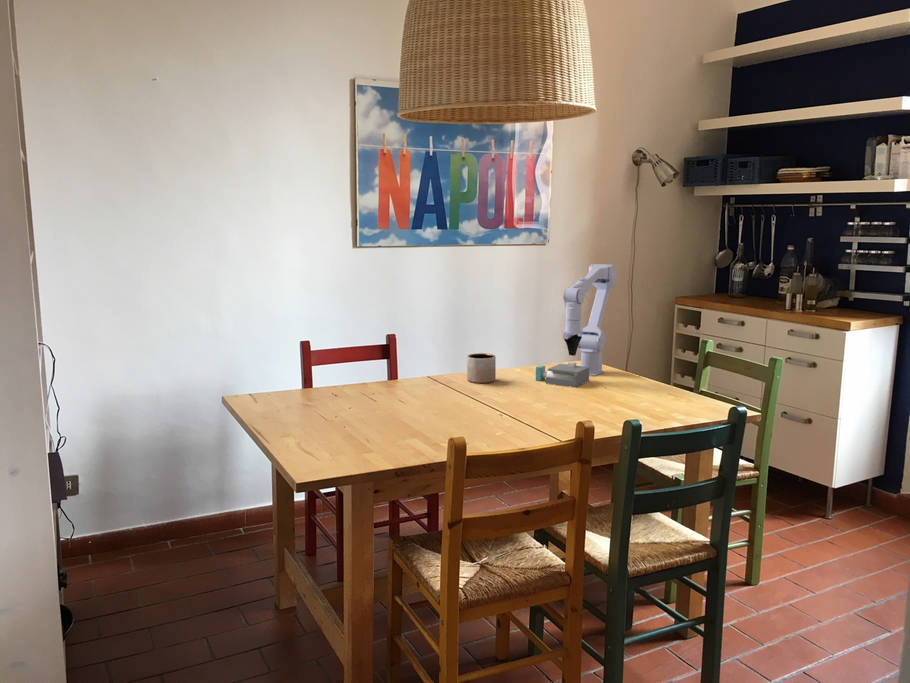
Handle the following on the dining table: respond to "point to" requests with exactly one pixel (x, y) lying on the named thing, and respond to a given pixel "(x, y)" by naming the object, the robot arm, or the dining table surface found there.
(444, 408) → the dining table surface
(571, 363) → the button
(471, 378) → the planter
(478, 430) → the dining table surface
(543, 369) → the cartridge
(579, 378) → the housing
